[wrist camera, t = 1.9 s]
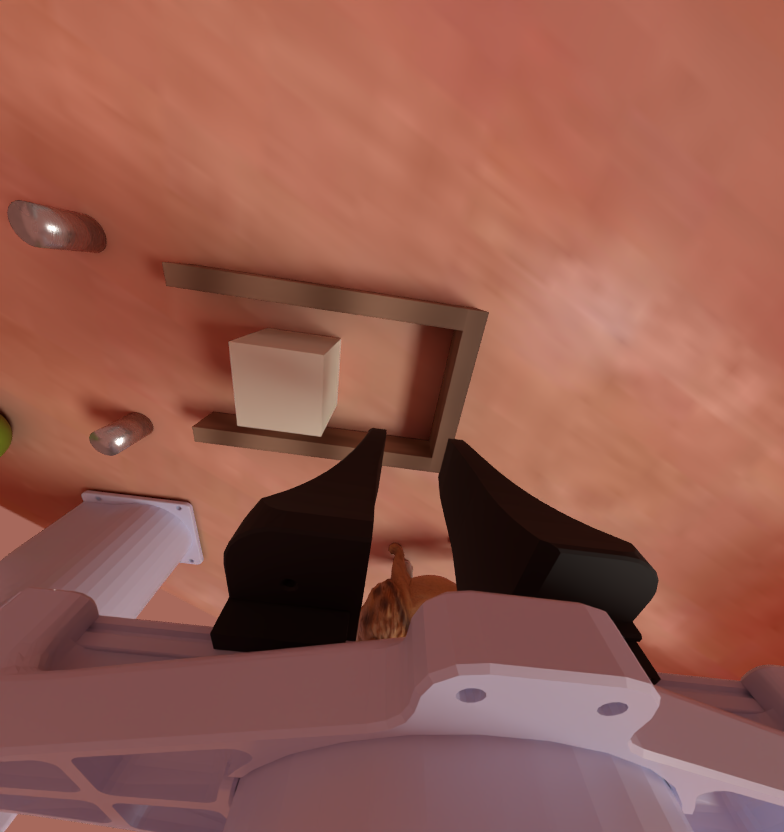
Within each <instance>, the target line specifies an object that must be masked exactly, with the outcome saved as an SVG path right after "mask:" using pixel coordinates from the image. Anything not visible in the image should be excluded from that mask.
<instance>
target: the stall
mask: <svg viewBox="0 0 784 832" xmlns="http://www.w3.org/2000/svg"><path fill="white" fill-rule="evenodd" d="M162 265H163V270H164V276H165V281H166V286H170V287H177V288H183V289H190V290H197V291H203V292H210V293H217V294H223V295H230V296H236V297H243V298H250V299H256V300H263V301H269V302H276V303H283V304H289V305H296V306H303V307H309V308H316V309H322V310H329V311H336V312H342V313H349V314H355V315H362V316H369V317H375V318H382V319H389V320H395V321H402V322H408V323H415V324H422V325H428V326H435V327H442V328H448V329H454V333H453V337H452V342H451V346H450V351H449V355H448V359H447V364H446V368H445V372H444V377H443V381H442V386H441V390H440V394H439V399H438V403H437V407H436V412H435V416H434V421H433V425H432V429H431V434H430V438H429V441H428V440H420V439H413V438H405V437H398V436H390V435H386V441H385V448H384V455H383V461H382V466H389V467H397V468H404V469H412V470H420V471H428V472H435V473H440V469H441V465H442V461H443V457H444V453H445V450H446V446H447V442H448V438H450V439H455V435H456V431H457V428H458V424H459V420H460V417H461V413H462V409H463V406H464V402H465V398H466V395H467V391H468V387H469V384H470V380H471V376H472V373H473V369H474V365H475V362H476V358H477V354H478V351H479V347H480V343H481V340H482V336H483V332H484V329H485V325H486V321H487V318H488V314H489V312H486V311H483V310H480V309H477V308H470V307H464V306H458V305H451V304H445V303H438V302H432V301H425V300H419V299H412V298H406V297H399V296H393V295H386V294H380V293H374V292H367V291H361V290H354V289H348V288H341V287H335V286H328V285H322V284H315V283H309V282H303V281H296V280H290V279H283V278H277V277H270V276H264V275H257V274H251V273H244V272H238V271H231V270H225V269H219V268H212V267H206V266H199V265H193V264H181V263H170V262H162ZM192 429H193V434H194V440H195V442H203V443H211V444H219V445H226V446H234V447H242V448H250V449H257V450H265V451H273V452H280V453H288V454H296V455H304V456H311V457H319V458H327V459H335V460H343V459H344V458H345V457H346V456H347V455H348V454H349V453H351V452H352V451H353V450H354V449H355V448H356V447H357V445H358V444H359V443H360V442H361V441H362V440H363V439H364V437H365V436H366V435H367V433H368V432H360V431H353V430H345V429H338V428H330V427H326V428H325V430H324V432H323V434H322V436H321V437H319V436H312V435H304V434H297V433H289V432H281V431H274V430H266V429H259V428H251V427H244V426H237V418H236V415H233V414H226V413H218V412H212V413H211V414H210V415H208V416H207V417H205V418H204V419H202V420H201V421H200V422H198V423H197V424H195V425H194V426H192Z"/></svg>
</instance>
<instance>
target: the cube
mask: <svg viewBox="0 0 784 832" xmlns="http://www.w3.org/2000/svg"><path fill="white" fill-rule="evenodd" d="M228 343H229V352H230V362H231V371H232V380H233V390H234V399H235V409H236V418H237V426H244V427H251V428H259V429H266V430H274V431H281V432H289V433H297V434H304V435H312V436H319V437H321V436H322V434H323V432H324V430H325V428H326V426H327V424H328V422H329V420H330V418H331V416H332V414H333V412H334V410H335V408H336V406H337V399H338V382H339V366H340V350H341V338H334V337H327V336H320V335H314V334H307V333H300V332H293V331H286V330H279V329H272V328H266V329H263V330H260V331H257V332H254V333H251V334H248V335H246V336H243V337H240V338H237V339H234V340H231V341H228Z"/></svg>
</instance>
